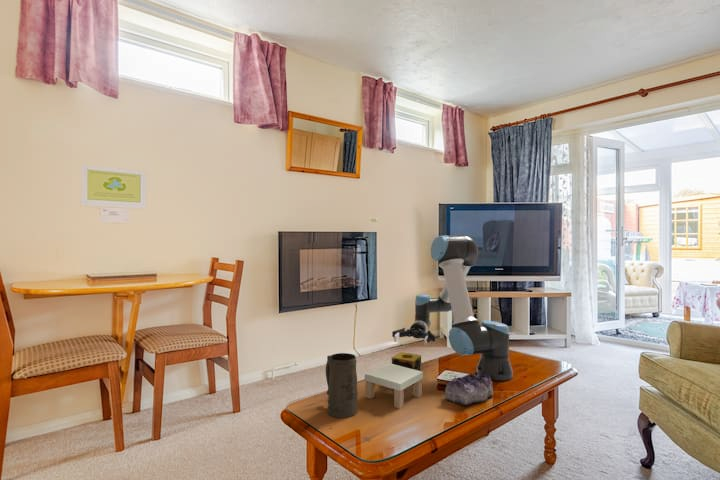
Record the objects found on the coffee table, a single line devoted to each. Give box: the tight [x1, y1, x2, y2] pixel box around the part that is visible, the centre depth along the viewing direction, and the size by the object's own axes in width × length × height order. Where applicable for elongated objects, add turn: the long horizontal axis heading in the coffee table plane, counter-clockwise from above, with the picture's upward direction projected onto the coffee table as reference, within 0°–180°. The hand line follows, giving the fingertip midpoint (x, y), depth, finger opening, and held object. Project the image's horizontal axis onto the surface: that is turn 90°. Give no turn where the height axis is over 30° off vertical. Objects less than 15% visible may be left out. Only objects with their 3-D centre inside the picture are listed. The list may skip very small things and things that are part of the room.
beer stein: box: [325, 352, 359, 419], centre depth 139 cm, size 15×10×20 cm
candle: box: [391, 351, 422, 386], centre depth 168 cm, size 10×10×10 cm
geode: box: [444, 373, 494, 406], centre depth 149 cm, size 20×12×10 cm, turn 121°
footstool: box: [364, 362, 424, 410], centre depth 151 cm, size 16×16×9 cm
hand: (409, 340), depth 178 cm, fingers open, 13 cm apart
